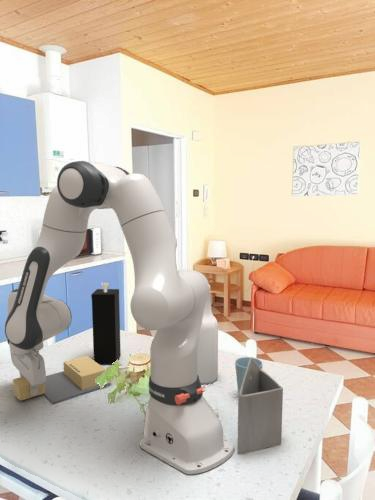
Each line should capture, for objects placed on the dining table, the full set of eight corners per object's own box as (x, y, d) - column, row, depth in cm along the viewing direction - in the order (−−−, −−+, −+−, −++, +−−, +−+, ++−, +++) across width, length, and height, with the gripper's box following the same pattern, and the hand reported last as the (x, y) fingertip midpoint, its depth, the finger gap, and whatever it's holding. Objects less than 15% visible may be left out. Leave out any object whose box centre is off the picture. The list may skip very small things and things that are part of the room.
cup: (267, 400, 111) (268, 364, 110) (244, 406, 108) (244, 369, 107) (252, 388, 118) (252, 355, 117) (230, 394, 115) (230, 359, 114)
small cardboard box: (45, 393, 114) (44, 379, 113) (19, 400, 110) (19, 387, 109) (38, 385, 119) (37, 372, 118) (13, 392, 114) (12, 379, 114)
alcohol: (208, 387, 119) (209, 289, 115) (184, 380, 124) (184, 286, 120) (222, 376, 126) (223, 284, 123) (199, 370, 131) (199, 281, 127)
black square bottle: (116, 365, 135) (114, 284, 132) (93, 364, 136) (90, 284, 132) (120, 356, 143) (118, 279, 140) (99, 356, 143) (96, 279, 140)
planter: (272, 464, 84) (274, 377, 82) (236, 453, 88) (238, 370, 86) (288, 425, 99) (291, 351, 96) (257, 417, 102) (259, 345, 100)
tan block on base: (111, 385, 120) (111, 371, 120) (52, 404, 109) (51, 388, 109) (86, 366, 134) (85, 353, 134) (31, 381, 123) (31, 367, 123)
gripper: (50, 350, 106) (53, 399, 108) (27, 331, 122) (29, 374, 124) (26, 356, 102) (29, 407, 104) (5, 335, 118) (8, 380, 120)
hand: (29, 389), depth 114 cm, fingers closed on small cardboard box, 6 cm apart
